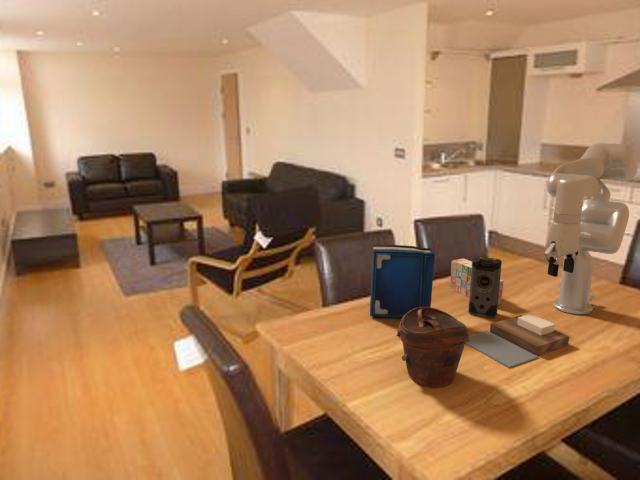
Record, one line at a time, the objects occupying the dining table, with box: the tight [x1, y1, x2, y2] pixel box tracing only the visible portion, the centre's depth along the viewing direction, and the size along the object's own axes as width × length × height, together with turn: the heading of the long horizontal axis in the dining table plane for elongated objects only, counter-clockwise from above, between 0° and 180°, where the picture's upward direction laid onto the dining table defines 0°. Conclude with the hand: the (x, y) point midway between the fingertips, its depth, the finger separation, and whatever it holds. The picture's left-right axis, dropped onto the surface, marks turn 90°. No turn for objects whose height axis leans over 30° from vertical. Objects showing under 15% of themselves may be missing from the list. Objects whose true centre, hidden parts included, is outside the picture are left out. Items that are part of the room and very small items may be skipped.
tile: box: [517, 313, 556, 335], centre depth 155 cm, size 6×9×2 cm, turn 28°
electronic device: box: [468, 256, 502, 319], centre depth 171 cm, size 9×6×20 cm, turn 62°
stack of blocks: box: [449, 258, 505, 306], centre depth 188 cm, size 21×6×12 cm, turn 27°
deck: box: [489, 314, 570, 357], centre depth 154 cm, size 14×18×3 cm
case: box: [396, 307, 470, 388], centre depth 132 cm, size 18×20×18 cm
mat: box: [465, 330, 539, 369], centre depth 148 cm, size 12×20×1 cm, turn 28°
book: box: [369, 244, 436, 319], centre depth 169 cm, size 22×7×25 cm, turn 84°
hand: (560, 273), depth 155 cm, fingers open, 6 cm apart
